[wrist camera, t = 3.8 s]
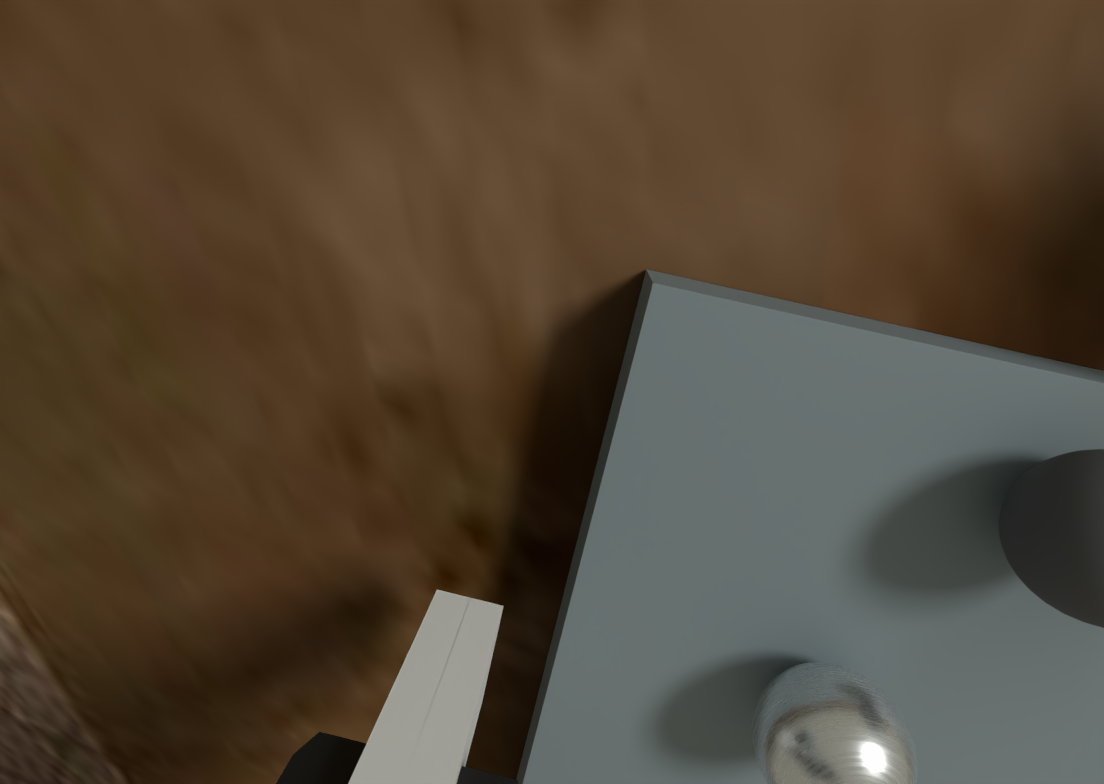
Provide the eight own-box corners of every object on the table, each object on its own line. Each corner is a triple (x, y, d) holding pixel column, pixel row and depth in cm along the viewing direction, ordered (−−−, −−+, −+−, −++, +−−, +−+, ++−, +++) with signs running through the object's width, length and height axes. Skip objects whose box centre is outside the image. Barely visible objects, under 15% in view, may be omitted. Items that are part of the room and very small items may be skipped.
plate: (514, 787, 20) (500, 867, 17) (646, 269, 14) (653, 282, 12) (1318, 985, 19) (1420, 1098, 17) (1771, 519, 14) (2014, 586, 11)
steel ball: (722, 721, 15) (750, 854, 12) (762, 617, 14) (804, 732, 11) (849, 752, 15) (910, 893, 12) (899, 649, 14) (979, 774, 11)
